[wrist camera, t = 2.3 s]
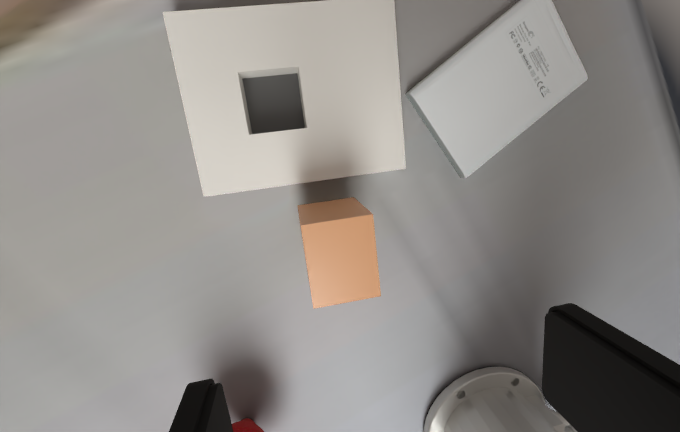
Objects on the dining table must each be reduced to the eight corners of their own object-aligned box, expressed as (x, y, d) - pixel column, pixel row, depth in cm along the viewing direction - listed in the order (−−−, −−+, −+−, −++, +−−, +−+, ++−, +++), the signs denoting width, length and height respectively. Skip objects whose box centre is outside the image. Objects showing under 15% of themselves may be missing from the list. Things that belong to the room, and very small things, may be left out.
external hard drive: (402, 95, 26) (529, -9, 25) (457, 177, 28) (574, 82, 28) (409, 92, 24) (545, -19, 24) (467, 179, 26) (591, 79, 26)
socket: (382, 10, 23) (393, -5, 21) (394, 165, 26) (405, 168, 24) (176, 25, 22) (162, 12, 19) (211, 191, 24) (203, 196, 22)
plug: (347, 191, 26) (372, 214, 18) (354, 251, 27) (380, 296, 20) (296, 199, 26) (300, 225, 18) (305, 259, 27) (313, 308, 19)
